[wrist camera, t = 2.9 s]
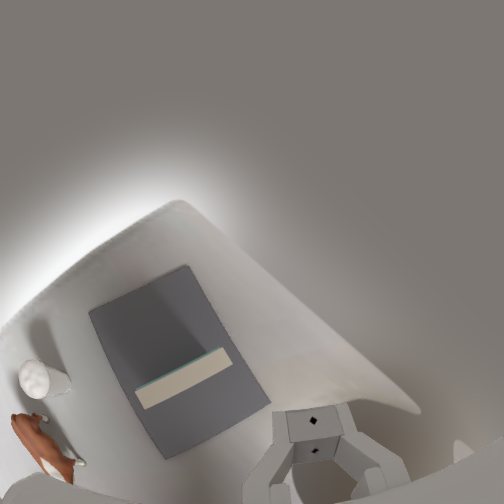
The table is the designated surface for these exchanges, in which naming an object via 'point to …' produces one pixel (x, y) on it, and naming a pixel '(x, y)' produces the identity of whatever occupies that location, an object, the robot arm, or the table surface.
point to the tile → (183, 377)
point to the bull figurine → (44, 447)
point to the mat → (176, 360)
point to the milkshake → (42, 380)
